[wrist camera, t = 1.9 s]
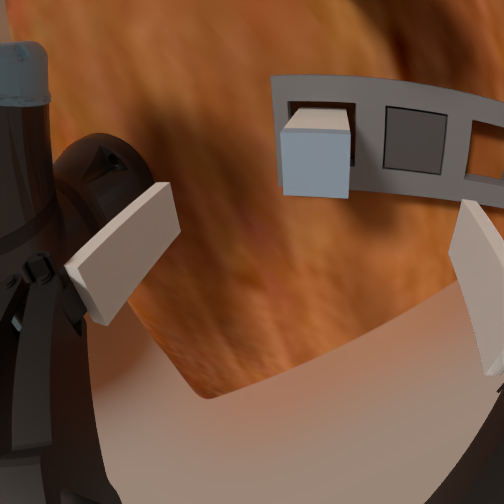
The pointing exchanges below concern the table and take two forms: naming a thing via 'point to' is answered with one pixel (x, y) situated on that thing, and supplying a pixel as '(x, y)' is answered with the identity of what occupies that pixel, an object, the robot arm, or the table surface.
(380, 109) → the panel
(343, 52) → the table surface
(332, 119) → the plug
